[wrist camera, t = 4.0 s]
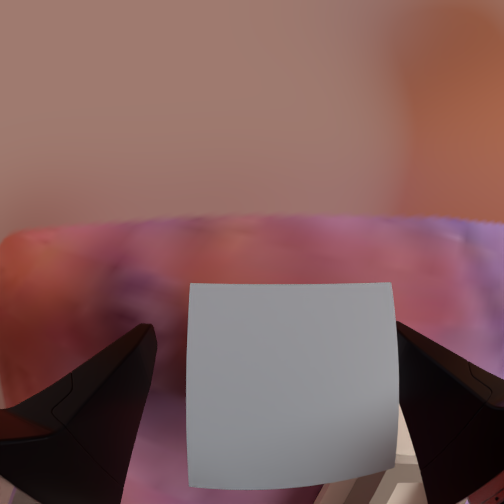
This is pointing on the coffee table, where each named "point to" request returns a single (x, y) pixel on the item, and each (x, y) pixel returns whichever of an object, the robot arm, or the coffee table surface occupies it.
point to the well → (383, 480)
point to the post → (290, 384)
